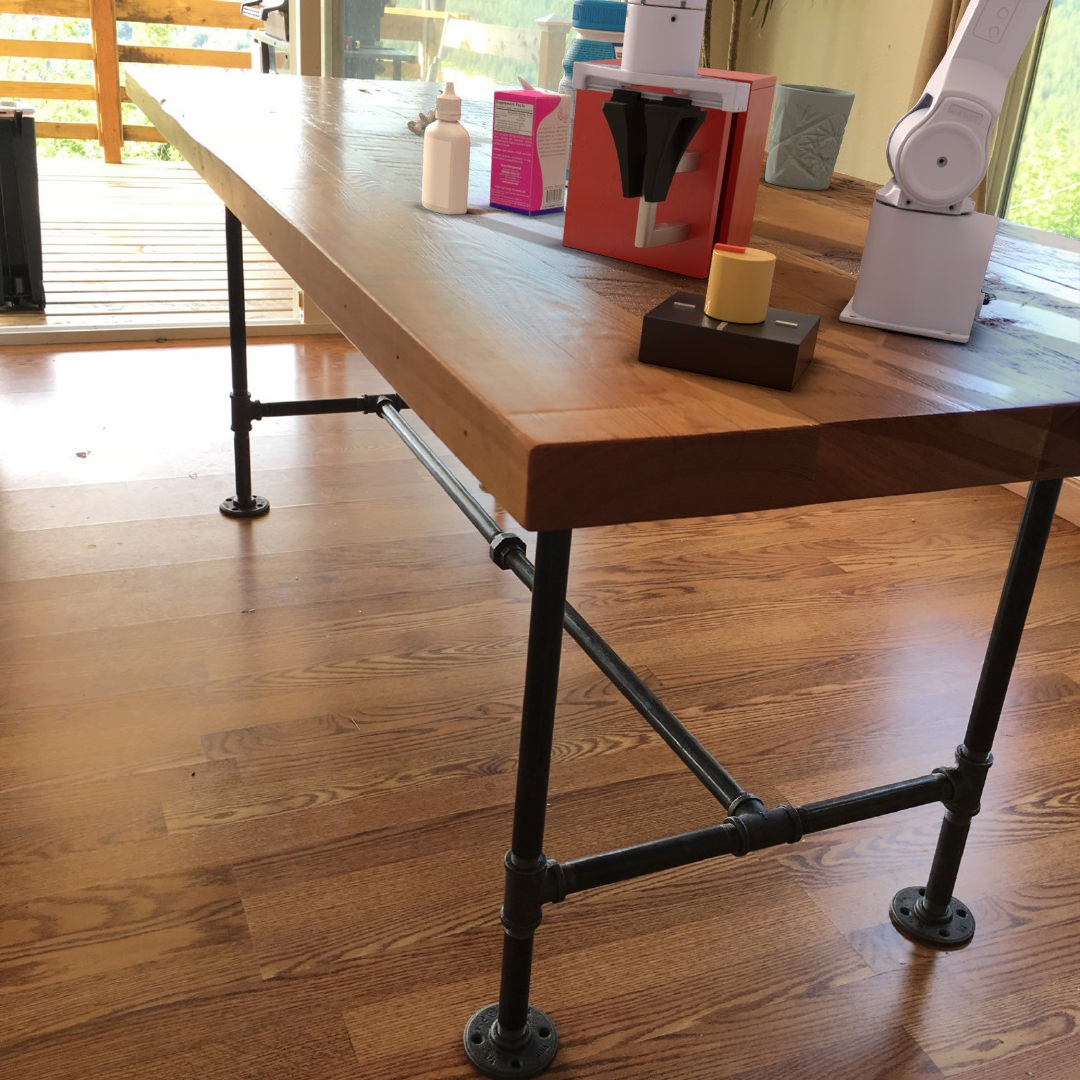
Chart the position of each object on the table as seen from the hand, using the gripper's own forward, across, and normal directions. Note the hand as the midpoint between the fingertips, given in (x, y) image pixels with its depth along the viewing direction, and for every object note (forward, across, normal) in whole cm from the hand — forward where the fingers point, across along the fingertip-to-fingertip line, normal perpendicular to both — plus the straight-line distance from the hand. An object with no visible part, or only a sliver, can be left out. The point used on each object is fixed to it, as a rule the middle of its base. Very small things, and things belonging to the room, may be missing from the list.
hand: (644, 199), depth 88 cm
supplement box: (+7, +25, -17) cm, 31 cm away
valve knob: (+4, -15, +11) cm, 20 cm away
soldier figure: (+7, +72, -53) cm, 90 cm away
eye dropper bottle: (+7, +29, -9) cm, 31 cm away
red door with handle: (+7, +5, -4) cm, 9 cm away
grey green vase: (+7, +19, -68) cm, 71 cm away
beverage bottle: (+7, +32, -37) cm, 50 cm away
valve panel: (+7, -15, +12) cm, 20 cm away
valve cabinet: (+7, +7, -14) cm, 17 cm away
